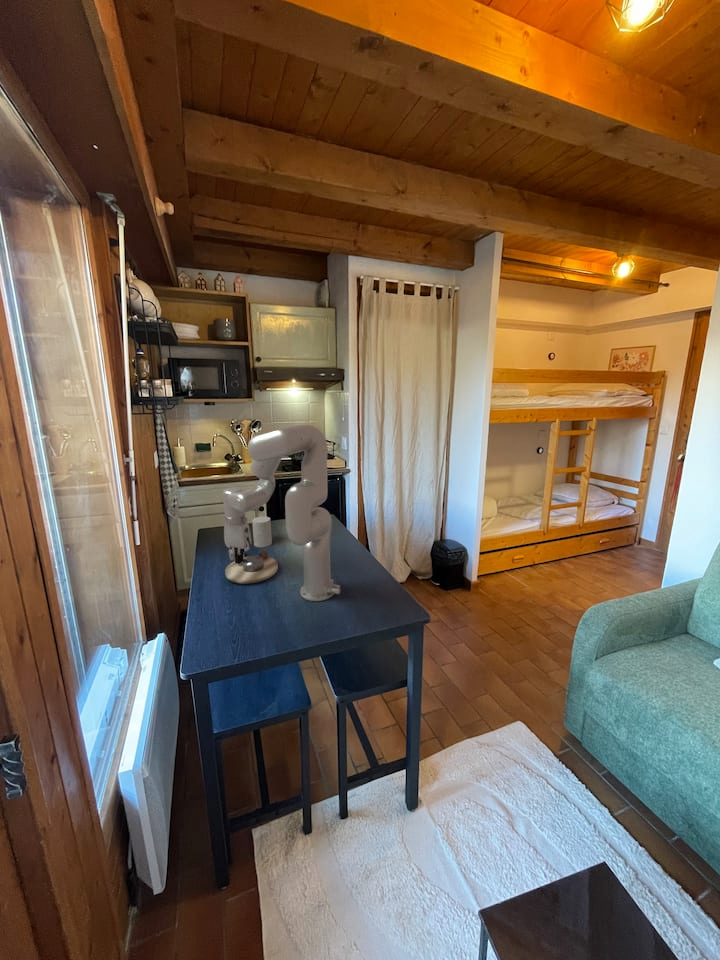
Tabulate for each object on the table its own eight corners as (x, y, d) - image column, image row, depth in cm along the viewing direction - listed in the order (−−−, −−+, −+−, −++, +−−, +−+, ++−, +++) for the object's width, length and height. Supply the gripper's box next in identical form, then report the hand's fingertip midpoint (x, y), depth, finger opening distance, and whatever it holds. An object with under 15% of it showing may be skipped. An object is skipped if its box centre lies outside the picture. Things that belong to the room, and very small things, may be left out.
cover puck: (268, 564, 152) (267, 557, 151) (255, 573, 145) (255, 566, 144) (251, 561, 155) (251, 554, 154) (238, 570, 148) (238, 563, 147)
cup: (250, 545, 176) (248, 520, 173) (262, 538, 183) (260, 515, 180) (263, 548, 172) (261, 523, 169) (275, 542, 179) (273, 518, 176)
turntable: (287, 563, 156) (286, 553, 154) (257, 587, 138) (256, 576, 137) (247, 555, 163) (246, 546, 162) (214, 577, 145) (213, 567, 144)
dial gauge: (243, 553, 167) (242, 545, 166) (244, 558, 163) (244, 550, 162) (229, 555, 165) (228, 547, 164) (230, 560, 161) (229, 552, 160)
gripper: (257, 518, 148) (260, 561, 152) (226, 513, 153) (230, 555, 158) (244, 525, 141) (248, 569, 146) (213, 520, 146) (218, 563, 151)
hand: (239, 562), depth 152 cm, fingers closed
